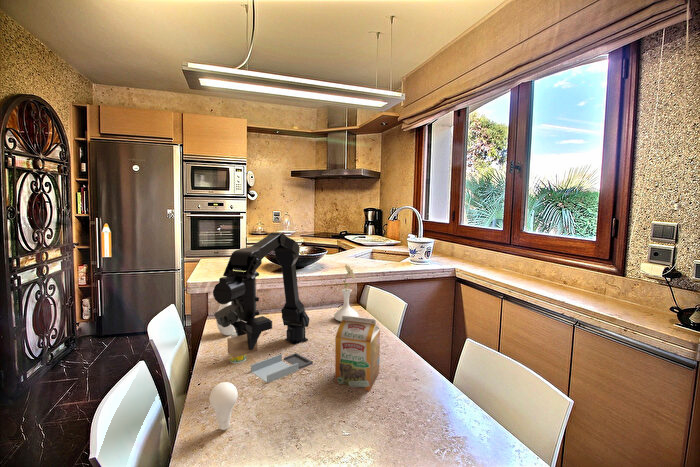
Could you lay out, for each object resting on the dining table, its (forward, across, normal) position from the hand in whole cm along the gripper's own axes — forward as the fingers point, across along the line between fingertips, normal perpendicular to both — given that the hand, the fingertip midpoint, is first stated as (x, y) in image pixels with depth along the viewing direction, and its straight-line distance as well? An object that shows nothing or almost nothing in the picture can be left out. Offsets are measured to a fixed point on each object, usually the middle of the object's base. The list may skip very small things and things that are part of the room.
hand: (246, 347), depth 99 cm
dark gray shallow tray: (+11, 0, +18) cm, 21 cm away
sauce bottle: (+11, -39, +13) cm, 42 cm away
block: (+1, 0, -1) cm, 2 cm away
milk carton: (+11, +21, +25) cm, 34 cm away
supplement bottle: (+11, -15, +5) cm, 19 cm away
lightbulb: (+11, +15, -14) cm, 23 cm away
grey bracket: (+11, 0, +9) cm, 14 cm away
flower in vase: (+11, -19, +60) cm, 64 cm away
